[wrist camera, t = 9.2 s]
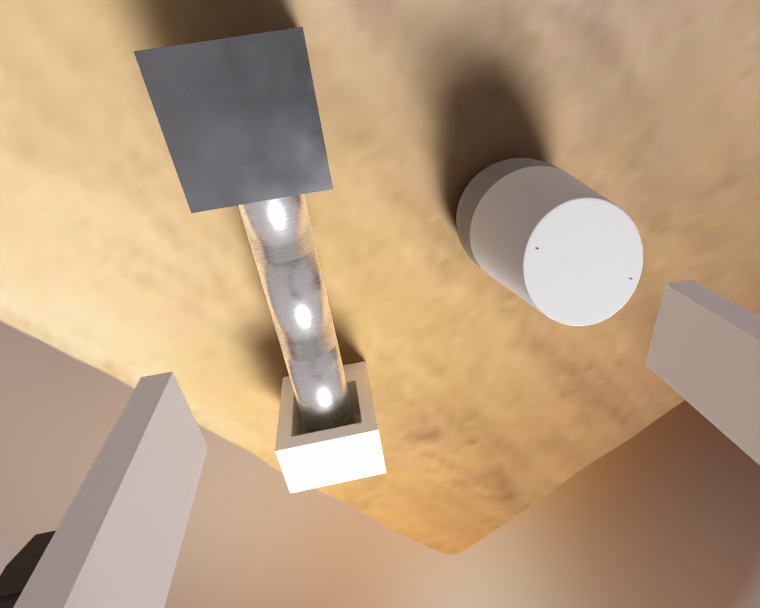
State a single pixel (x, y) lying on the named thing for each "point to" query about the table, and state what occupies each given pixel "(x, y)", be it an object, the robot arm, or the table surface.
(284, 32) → the sleeve
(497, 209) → the smart speaker
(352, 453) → the socket block
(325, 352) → the tube
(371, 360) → the table surface
